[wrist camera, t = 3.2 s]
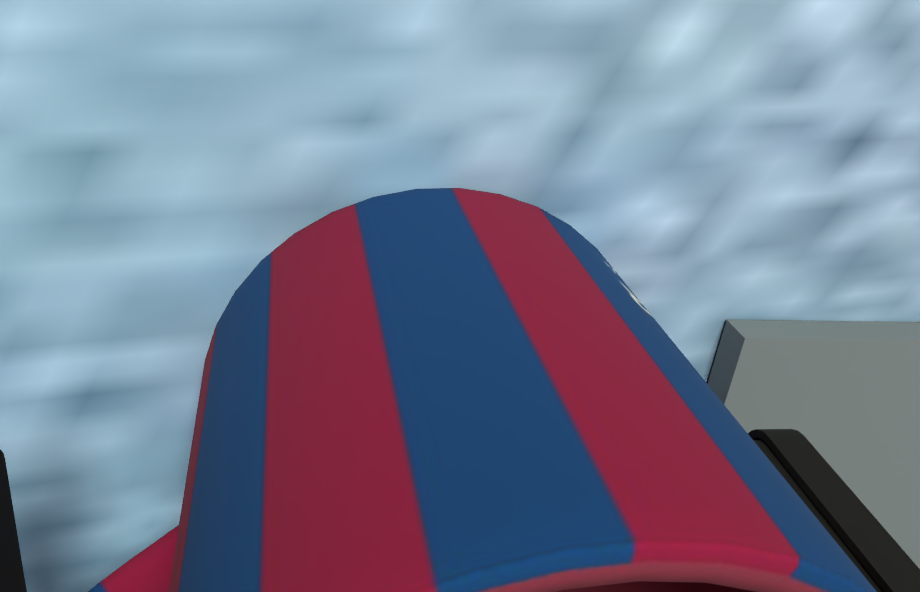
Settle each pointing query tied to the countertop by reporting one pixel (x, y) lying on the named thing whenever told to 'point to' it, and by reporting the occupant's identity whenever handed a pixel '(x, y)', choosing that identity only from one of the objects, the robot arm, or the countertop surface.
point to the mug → (467, 427)
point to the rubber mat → (836, 403)
